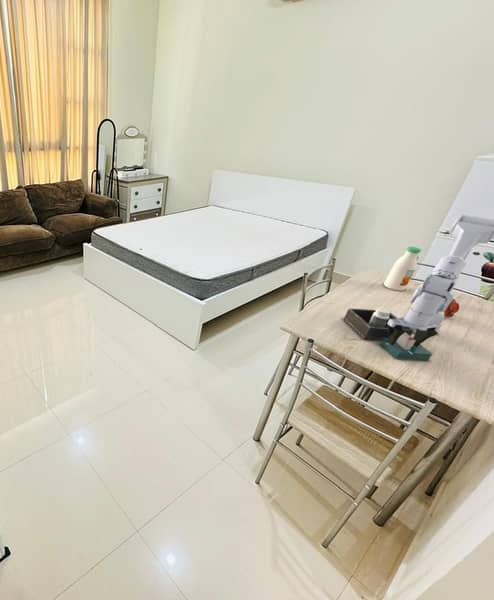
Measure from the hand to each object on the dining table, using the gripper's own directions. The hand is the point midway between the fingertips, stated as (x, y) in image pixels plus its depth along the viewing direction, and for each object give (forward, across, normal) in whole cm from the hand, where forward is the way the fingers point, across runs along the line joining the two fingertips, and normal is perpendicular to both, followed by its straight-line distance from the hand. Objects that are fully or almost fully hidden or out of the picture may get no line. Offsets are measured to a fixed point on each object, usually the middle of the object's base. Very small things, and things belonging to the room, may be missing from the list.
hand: (401, 344), depth 110 cm
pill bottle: (+3, 0, +13) cm, 13 cm away
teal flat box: (+3, +2, 0) cm, 4 cm away
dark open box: (+3, 0, +13) cm, 13 cm away
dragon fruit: (+4, +35, +29) cm, 46 cm away
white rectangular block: (0, 0, 0) cm, 0 cm away
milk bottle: (+4, +33, +53) cm, 62 cm away
